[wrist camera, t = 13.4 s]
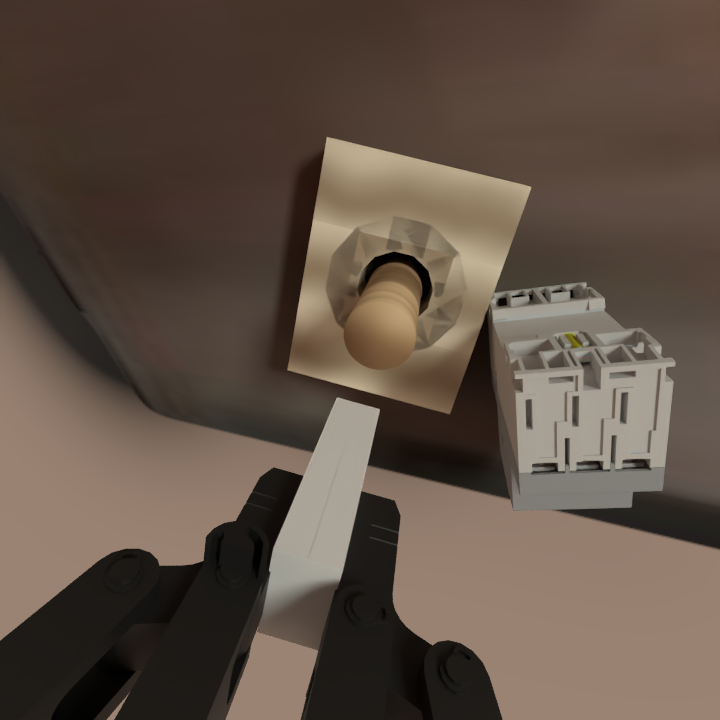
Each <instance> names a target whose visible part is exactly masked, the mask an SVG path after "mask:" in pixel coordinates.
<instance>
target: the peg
mask: <svg viewBox="0 0 720 720" xmlns="http://www.w3.org/2000/svg"><path fill="white" fill-rule="evenodd" d="M421 296H422V282H421V279H420V277H419V272H418V269H417V267H416V265H415V264H414V263H413V262H412V261H410V260H409V259H407V258H404V257H394V258H391V259H389V260H387V261H386V262H385V263H384V264H383V265H381V266H380V267H378V268H377V269H376V270H375V271H374V272H373V274H372V275H371V277H370V279H369V281H368V284H367V285H366V287H365V289H364V291H363V292H362V294H361V296H360V298H359V300H358V301H357V303H356V305H355V307H354V309H353V310H352V312H351V314H350V316H349V317H348V319H347V321H346V324H345V327H344V342H345V346H346V348H347V350H348V352H349V354H350V355H351V356H352V357H353V358H354V359H355V360H356V361H357V362H358V363H360V364H361V365H363V366H365V367H367V368H370V369H375V370H387V369H392V368H395V367H397V366H399V365H401V364H402V363H403V362H405V361H406V360H407V359H408V358H409V356H410V355H411V353H412V351H413V349H414V346H415V342H416V333H417V325H418V316H419V308H420V299H421Z"/></svg>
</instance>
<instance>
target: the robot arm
mask: <svg viewBox="0 0 720 720" xmlns="http://www.w3.org/2000/svg"><path fill="white" fill-rule="evenodd" d="M379 412H380V409H377V408H374V407H370V406H366V405H363V404H359V403H356V402H352V401H348V400H345V399H341V398H337V399H336V401H335V403H334V406H333V408H332V410H331V413H330V415H329V417H328V420H327V422H326V425H325V427H324V429H323V432H322V434H321V436H320V439H319V441H318V444H317V446H316V448H315V451H314V453H313V455H312V458H311V460H310V463H309V465H308V467H307V470H306V472H305V474H304V476H302V475H298V474H295V473H291V472H288V471H284V470H281V469H277V468H272V469H271V470H270V471H268V472H267V473H265V474H264V475H263V476H261V477H260V479H259V480H258V482H257V484H256V486H255V487H254V489H253V492H252V493H251V495H250V496H249V498H248V500H247V502H246V504H245V505H244V507H243V509H242V511H241V513H240V514H239V516H238V518H237V520H236V521H233V522H227V523H224V524H222V525H220V526H218V527H216V528H214V529H213V530H212V531H211V532H210V533H209V534H208V535H207V537H206V543H205V553H204V561H202V562H199V563H196V564H193V565H184V566H159V563H158V560H157V559H156V558H155V557H154V556H153V555H152V554H151V553H150V552H147V551H144V550H141V549H124V550H120V551H116V552H113V553H111V554H109V555H107V556H106V557H104V558H102V559H101V560H99V561H98V562H97V563H95V564H94V565H93V566H92V567H91V568H89V569H88V570H87V571H86V572H84V573H83V574H82V575H81V576H79V577H78V578H77V579H76V580H74V581H73V582H72V583H71V584H70V585H68V586H67V587H66V588H65V589H63V590H62V591H61V592H60V593H59V594H57V595H56V596H55V597H54V598H52V599H51V600H50V601H49V602H47V603H46V604H45V605H44V606H43V607H41V608H40V609H39V610H38V611H36V612H35V613H34V614H33V615H31V617H29V618H28V619H26V620H25V621H24V622H23V623H22V624H20V625H19V626H18V627H17V628H15V629H14V630H13V631H12V632H10V633H9V634H8V635H7V636H6V637H4V638H3V639H2V640H1V641H0V720H107V718H108V717H109V716H110V715H111V714H112V712H113V711H114V710H115V709H116V708H117V706H118V705H119V704H120V703H121V702H122V701H123V699H124V698H125V697H126V696H127V695H128V694H129V695H128V697H127V699H126V700H125V702H124V704H123V705H122V708H121V709H120V711H119V712H118V714H117V716H116V718H115V719H114V720H225V719H226V716H227V714H228V711H229V709H230V706H231V703H232V701H233V698H234V695H235V693H236V690H237V687H238V685H239V682H240V679H241V677H242V674H243V671H244V669H245V666H246V663H247V661H248V658H249V653H250V647H251V643H252V640H253V638H254V635H255V633H256V630H257V627H258V630H257V632H260V633H263V634H266V635H269V636H273V637H276V638H279V639H283V640H286V641H289V642H292V643H296V644H299V645H302V646H306V647H309V648H312V649H315V650H318V655H317V659H316V663H315V666H314V669H313V673H312V676H311V680H310V683H309V686H308V690H307V693H306V700H305V705H304V709H303V713H302V717H301V720H502V716H501V713H500V710H499V707H498V703H497V700H496V697H495V694H494V690H493V687H492V684H491V681H490V677H489V675H488V673H487V671H486V669H485V666H484V665H483V663H482V661H481V660H480V659H479V658H478V657H477V656H476V654H475V653H474V652H473V651H472V650H470V649H469V648H467V647H466V646H464V645H462V644H461V643H457V642H453V641H449V640H447V641H441V642H437V643H436V644H434V645H433V646H432V645H431V644H429V643H428V642H426V641H425V640H423V639H422V638H420V637H419V636H417V635H416V634H414V633H413V632H412V631H411V630H410V629H408V628H407V627H406V626H405V625H404V624H403V622H402V621H401V620H400V619H399V616H398V615H397V613H396V611H395V608H394V605H393V596H392V593H393V583H394V573H395V564H396V554H397V544H398V533H399V525H400V514H399V511H398V508H397V506H396V503H395V501H394V500H390V499H387V498H383V497H380V496H376V495H372V494H369V493H366V492H362V491H361V490H362V486H363V481H364V477H365V472H366V468H367V464H368V460H369V455H370V451H371V447H372V442H373V438H374V434H375V429H376V425H377V421H378V416H379ZM130 691H131V692H130ZM129 692H130V693H129Z"/></svg>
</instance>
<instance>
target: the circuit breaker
mask: <svg viewBox="0 0 720 720" xmlns="http://www.w3.org/2000/svg"><path fill="white" fill-rule="evenodd" d="M558 290H562V292H558V293H552V292H551V291H558ZM569 290H573V298H570V291H569ZM541 293H545V297H544V296H543V295H542V294H541ZM516 295H524V297H515V298H512V296H516ZM529 295H533V299H532V300H529ZM498 298H506V300H507V306H498ZM604 308H605V299H604V297H603V296H601V295H600V294H599V293H598V292H597V291H595V290H594V289H593V288H592V287H586V282H580V283H572V284H564V285H555V286H547V287H538V288H530V289H522V290H513V291H505V292H497V293H493V296H492V299H491V301H490V304H489V309H488V310H487V315H488V330H489V346H490V361H491V377H492V385H493V390H494V393H495V398H496V402H497V412H498V428H499V444H500V453H501V457H502V462H503V466H504V471H505V475H506V480H507V485H508V492H509V494H510V498H511V503H512V507H513V510H514V511H519V510H556V509H592V508H628V507H632V494H633V492H638V491H662V489H663V480H664V470H665V460H666V450H667V440H668V430H669V420H670V411H671V401H672V391H673V380H672V379H671V378H669V377H668V376H667V375H666V367H672V366H675V361H674V359H673V358H662V356H661V347H662V346H661V345H660V344H659V343H658V342H657V341H656V340H655V339H654V338H653V337H651V336H650V335H649V334H648V333H647V332H645V331H644V330H643V329H642V328H632V329H624V328H623V327H622V326H621V325H619V324H618V323H617V322H616V321H615V320H614V319H613V318H612V317H611V316H609V315H608V314H607V313H606V312H605V311H604Z"/></svg>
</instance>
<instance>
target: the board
mask: <svg viewBox="0 0 720 720" xmlns="http://www.w3.org/2000/svg"><path fill="white" fill-rule="evenodd" d="M530 190H531V187H529V186H526V185H522V184H518V183H514V182H510V181H506V180H502V179H498V178H494V177H490V176H486V175H481V174H477V173H473V172H469V171H465V170H461V169H457V168H453V167H449V166H445V165H441V164H437V163H432V162H428V161H424V160H420V159H416V158H412V157H408V156H404V155H400V154H396V153H392V152H387V151H383V150H379V149H375V148H371V147H367V146H363V145H359V144H355V143H351V142H347V141H343V140H338V139H334V138H329V137H327V140H326V146H325V152H324V158H323V164H322V170H321V175H320V181H319V187H318V193H317V199H316V205H315V211H314V217H313V223H312V228H311V234H310V240H309V246H308V252H307V258H306V264H305V270H304V276H303V281H302V287H301V293H300V299H299V305H298V311H297V317H296V323H295V329H294V334H293V340H292V346H291V352H290V358H289V364H288V370H289V371H292V372H296V373H300V374H303V375H307V376H311V377H314V378H318V379H322V380H325V381H329V382H333V383H336V384H340V385H344V386H347V387H351V388H355V389H358V390H362V391H366V392H370V393H373V394H377V395H381V396H384V397H388V398H392V399H395V400H399V401H403V402H406V403H410V404H414V405H417V406H421V407H425V408H428V409H432V410H436V411H439V412H443V413H447V414H450V413H451V410H452V407H453V404H454V402H455V399H456V396H457V393H458V390H459V388H460V385H461V382H462V379H463V377H464V374H465V371H466V368H467V365H468V363H469V360H470V357H471V354H472V351H473V349H474V346H475V343H476V340H477V338H478V335H479V332H480V329H481V326H482V324H483V321H484V318H485V315H486V313H487V310H488V307H489V304H490V301H491V299H492V296H493V293H494V290H495V287H496V285H497V282H498V279H499V276H500V274H501V271H502V268H503V265H504V262H505V260H506V257H507V254H508V251H509V248H510V246H511V243H512V240H513V237H514V235H515V232H516V229H517V226H518V223H519V221H520V218H521V215H522V212H523V210H524V207H525V204H526V201H527V198H528V196H529V193H530ZM393 251H395V252H399V253H403V254H407V255H411V256H414V257H415V258H416V259H417V260H418V261H419V262H420V263H421V264H422V265H423V266H424V267H425V268H426V269H427V270H428V271H429V275H430V279H431V283H432V284H431V287H430V291H429V294H428V295H427V296H426V297H425V298H424V299H423V300H422V301H421V302H420V308H419V316H418V325H417V333H416V342H415V346H414V349H413V351H412V353H411V355H410V356H409V358H408V359H407V360H406V361H405V362H403V363H402V364H401V365H399V366H397V367H395V368H392V369H387V370H375V369H370V368H367V367H365V366H363V365H361V364H360V363H358V362H357V361H356V360H355V359H354V358H353V357H352V356H351V355H350V354H349V352H348V350H347V348H346V346H345V342H344V327H345V324H346V321H347V319H348V317H349V316H350V314H351V312H352V310H353V309H354V307H355V305H356V303H357V301H358V300H359V298H360V296H361V294H362V292H363V291H364V289H365V287H366V285H367V283H366V280H365V274H366V270H367V265H368V264H369V263H370V261H371V260H372V259H373V258H374V257H376V256H380V255H383V254H386V253H390V252H393Z"/></svg>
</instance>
